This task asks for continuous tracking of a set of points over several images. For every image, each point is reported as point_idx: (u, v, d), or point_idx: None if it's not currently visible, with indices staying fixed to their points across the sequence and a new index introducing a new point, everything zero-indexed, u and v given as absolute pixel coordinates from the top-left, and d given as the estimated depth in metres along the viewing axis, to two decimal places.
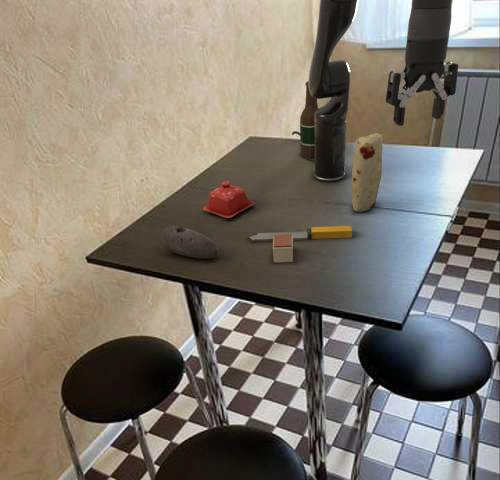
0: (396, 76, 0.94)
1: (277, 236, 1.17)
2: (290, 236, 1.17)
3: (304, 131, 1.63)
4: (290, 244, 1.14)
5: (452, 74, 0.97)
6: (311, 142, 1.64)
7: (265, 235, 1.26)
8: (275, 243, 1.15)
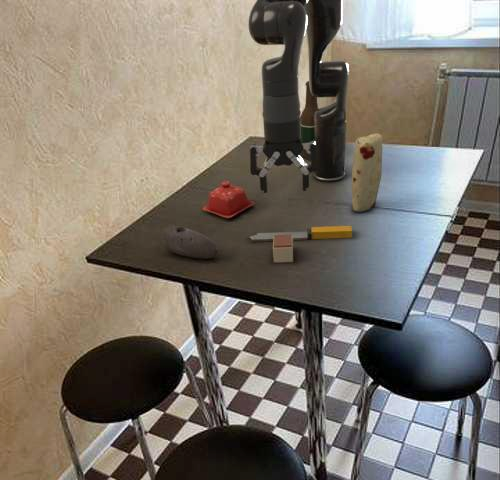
0: (251, 150, 1.02)
1: (277, 236, 1.17)
2: (290, 236, 1.17)
3: (304, 131, 1.63)
4: (290, 244, 1.14)
5: (310, 153, 1.02)
6: None
7: (265, 235, 1.26)
8: (275, 243, 1.15)
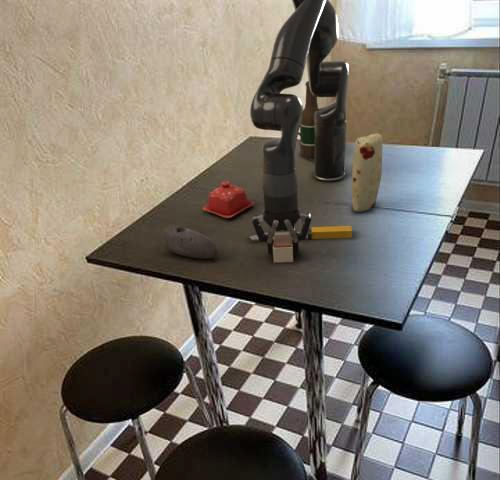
0: (253, 222, 1.12)
1: (277, 236, 1.17)
2: (290, 236, 1.17)
3: (304, 131, 1.63)
4: (290, 244, 1.14)
5: (304, 224, 1.11)
6: (311, 142, 1.64)
7: None
8: (275, 243, 1.15)
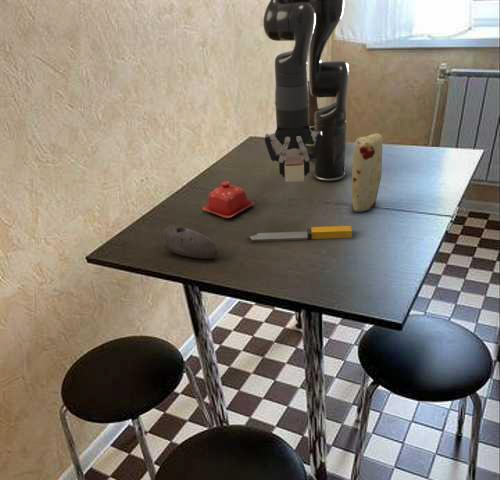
0: (265, 140, 1.15)
1: (289, 157, 1.20)
2: (301, 156, 1.19)
3: None
4: (301, 162, 1.16)
5: (315, 141, 1.14)
6: (311, 142, 1.64)
7: (265, 235, 1.26)
8: (287, 162, 1.17)
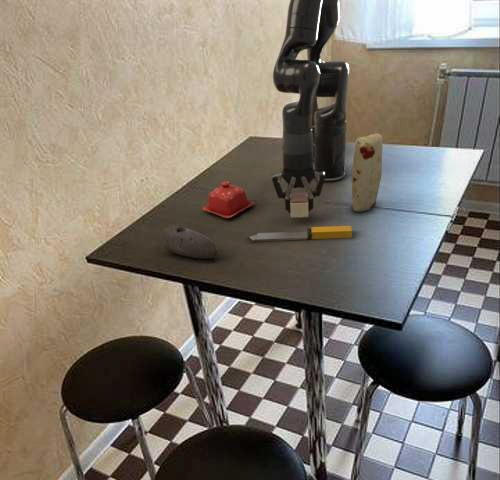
0: (273, 180, 1.25)
1: (294, 194, 1.30)
2: (305, 194, 1.29)
3: None
4: (306, 200, 1.26)
5: (319, 181, 1.24)
6: None
7: (265, 235, 1.26)
8: (292, 199, 1.27)
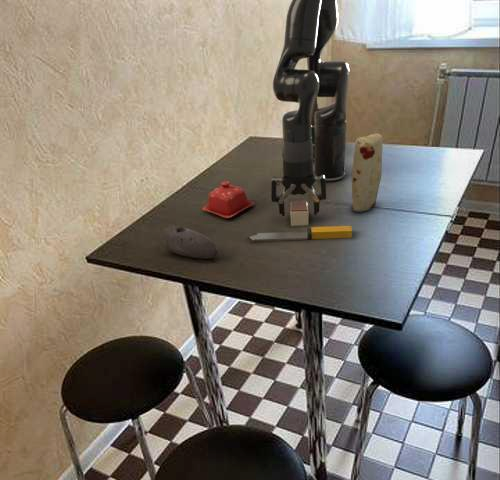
0: (272, 182, 1.25)
1: (294, 202, 1.31)
2: (305, 202, 1.31)
3: None
4: (306, 208, 1.28)
5: (320, 185, 1.25)
6: None
7: (265, 235, 1.26)
8: (292, 208, 1.28)
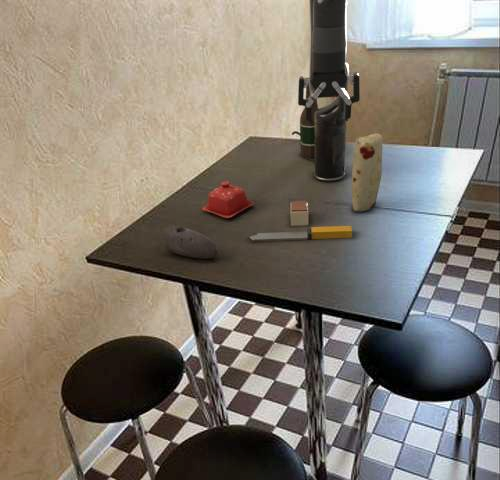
0: (299, 81, 1.12)
1: (294, 202, 1.31)
2: (305, 202, 1.31)
3: (304, 131, 1.63)
4: (306, 208, 1.28)
5: (354, 84, 1.12)
6: (311, 142, 1.64)
7: (265, 235, 1.26)
8: (292, 208, 1.28)
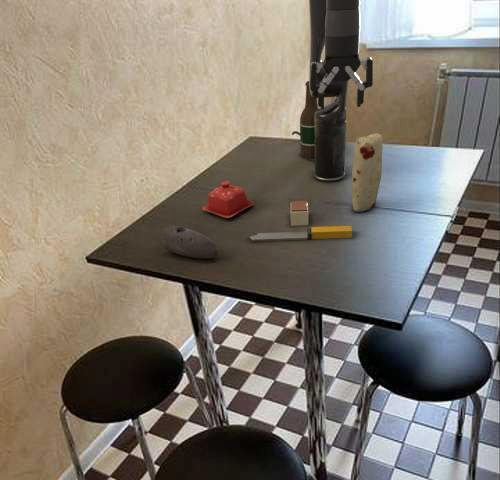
0: (312, 66, 1.11)
1: (294, 202, 1.31)
2: (305, 202, 1.31)
3: (304, 131, 1.63)
4: (306, 208, 1.28)
5: (367, 68, 1.11)
6: (311, 142, 1.64)
7: (265, 235, 1.26)
8: (292, 208, 1.28)
